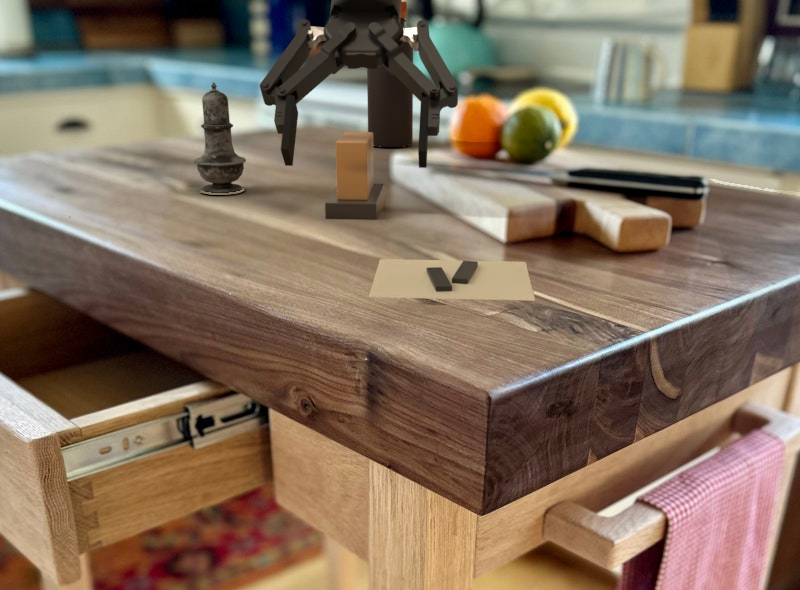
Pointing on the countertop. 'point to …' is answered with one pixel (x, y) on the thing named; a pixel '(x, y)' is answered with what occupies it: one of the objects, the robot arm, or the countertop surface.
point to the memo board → (484, 284)
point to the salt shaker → (218, 146)
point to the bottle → (390, 102)
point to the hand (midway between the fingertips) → (354, 159)
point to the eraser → (355, 180)
